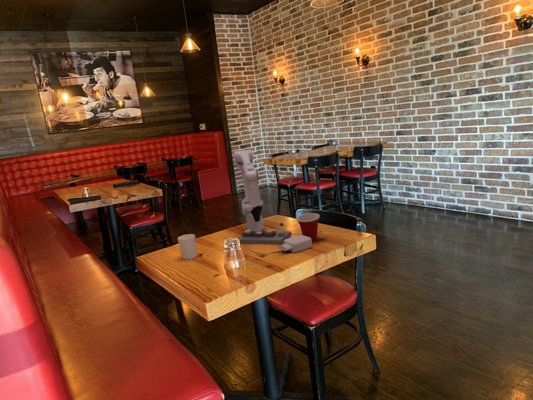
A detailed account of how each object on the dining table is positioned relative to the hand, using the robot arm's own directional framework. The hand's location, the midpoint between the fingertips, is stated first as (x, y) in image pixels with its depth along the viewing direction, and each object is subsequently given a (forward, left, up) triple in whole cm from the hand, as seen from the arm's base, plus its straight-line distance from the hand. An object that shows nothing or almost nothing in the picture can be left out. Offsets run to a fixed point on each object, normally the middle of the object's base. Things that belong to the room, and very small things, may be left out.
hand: (257, 221), depth 199 cm
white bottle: (+14, +23, -10) cm, 28 cm away
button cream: (0, 0, -7) cm, 7 cm away
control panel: (0, +3, -9) cm, 10 cm away
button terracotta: (0, +6, -6) cm, 9 cm away
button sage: (0, -6, -6) cm, 9 cm away
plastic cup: (+1, +27, -10) cm, 29 cm away
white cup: (+27, -24, -10) cm, 37 cm away
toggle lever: (0, +12, -6) cm, 14 cm away
